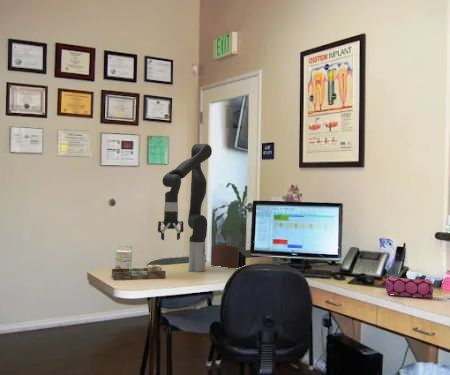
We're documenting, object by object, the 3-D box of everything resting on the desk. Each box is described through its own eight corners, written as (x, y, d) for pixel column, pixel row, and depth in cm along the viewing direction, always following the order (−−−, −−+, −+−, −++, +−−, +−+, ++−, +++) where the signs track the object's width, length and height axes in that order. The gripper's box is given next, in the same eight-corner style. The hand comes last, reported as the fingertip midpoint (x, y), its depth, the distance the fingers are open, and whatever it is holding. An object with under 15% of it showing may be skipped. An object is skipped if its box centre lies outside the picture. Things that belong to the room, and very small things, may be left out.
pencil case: (385, 297, 232) (386, 276, 232) (384, 293, 242) (385, 272, 242) (434, 301, 227) (434, 279, 227) (431, 296, 236) (432, 275, 236)
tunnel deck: (160, 274, 275) (161, 267, 275) (165, 278, 264) (165, 271, 264) (111, 276, 267) (112, 268, 267) (114, 280, 255) (114, 272, 255)
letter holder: (237, 269, 299) (238, 246, 299) (210, 266, 309) (211, 244, 309) (245, 267, 307) (246, 245, 307) (219, 264, 318) (219, 242, 318)
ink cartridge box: (114, 271, 281) (115, 245, 281) (117, 270, 286) (118, 244, 286) (129, 272, 280) (130, 246, 280) (131, 270, 285) (132, 245, 285)
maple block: (158, 271, 272) (158, 264, 272) (160, 273, 266) (160, 266, 266) (147, 272, 270) (147, 265, 270) (149, 274, 264) (149, 266, 264)
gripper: (182, 210, 277) (181, 239, 277) (157, 210, 272) (156, 239, 272) (185, 211, 269) (184, 240, 269) (159, 210, 265) (158, 240, 265)
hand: (170, 240), depth 271 cm, fingers open, 8 cm apart
